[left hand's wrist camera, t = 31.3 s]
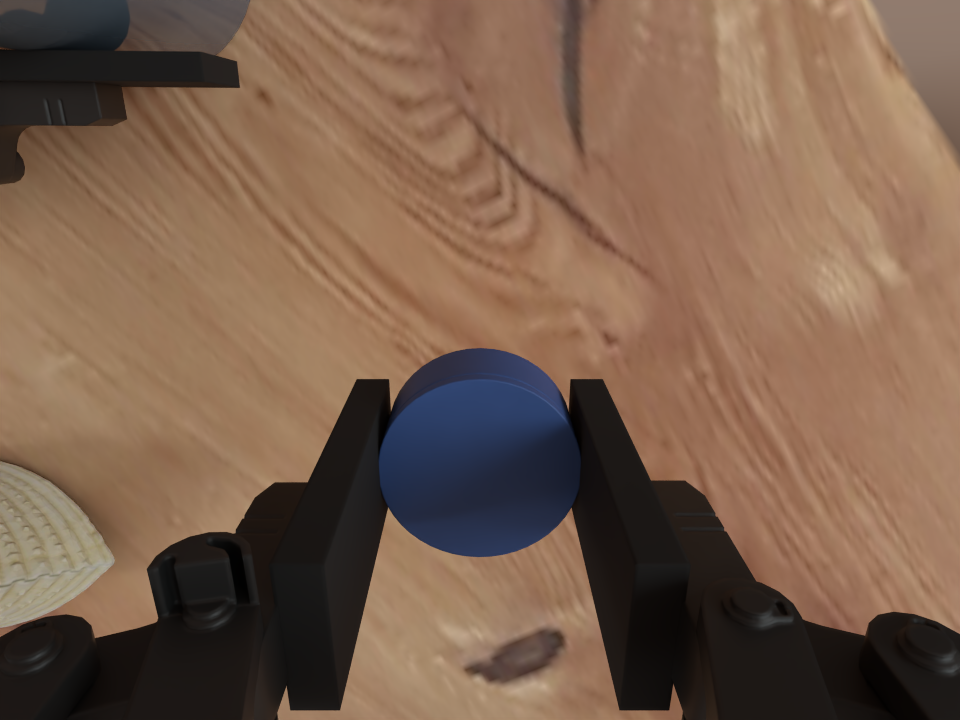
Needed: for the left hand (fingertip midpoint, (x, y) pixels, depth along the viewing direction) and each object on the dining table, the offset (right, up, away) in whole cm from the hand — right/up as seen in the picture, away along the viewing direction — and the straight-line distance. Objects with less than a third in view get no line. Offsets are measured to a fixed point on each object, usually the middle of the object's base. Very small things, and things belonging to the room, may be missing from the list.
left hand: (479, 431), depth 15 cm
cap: (0, -1, -2) cm, 2 cm away
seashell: (-24, -7, +16) cm, 29 cm away
